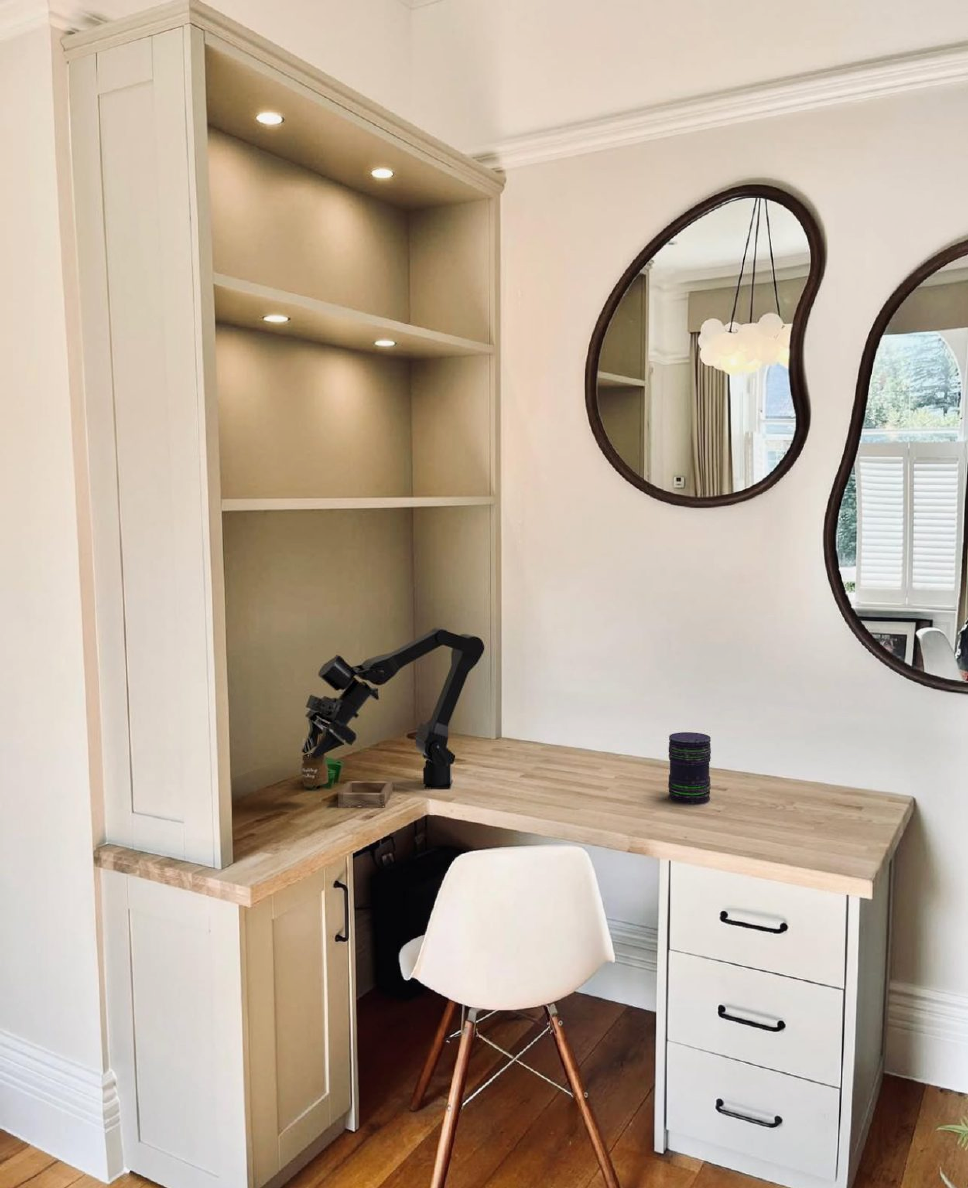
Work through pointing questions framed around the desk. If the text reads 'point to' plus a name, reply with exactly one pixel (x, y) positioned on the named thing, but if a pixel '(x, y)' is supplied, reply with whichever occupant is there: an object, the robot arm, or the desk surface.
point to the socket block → (365, 794)
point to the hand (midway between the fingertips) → (307, 755)
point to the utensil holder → (314, 769)
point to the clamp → (331, 772)
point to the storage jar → (689, 768)
